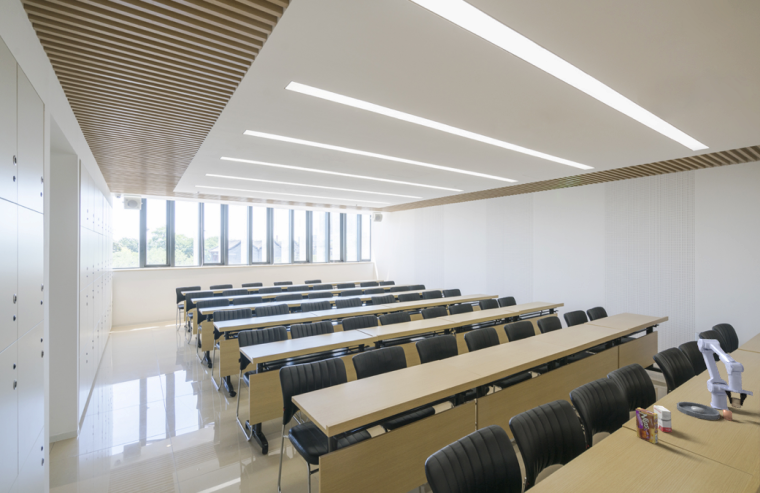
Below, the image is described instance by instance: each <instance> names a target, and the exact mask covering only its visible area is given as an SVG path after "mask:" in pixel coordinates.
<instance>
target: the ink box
mask: <svg viewBox="0 0 760 493" xmlns="http://www.w3.org/2000/svg"><path fill="white" fill-rule="evenodd" d="M653 412H654V413H657V415H658V430H660V431H662V432H663V433H673V431H672V429H673V428H672V411H670V410H669V409H668V408H666V407H664V406H663V405H658V404H657V405H653Z"/></svg>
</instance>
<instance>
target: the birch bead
mask: <svg viewBox="0 0 760 493" xmlns="http://www.w3.org/2000/svg"><path fill="white" fill-rule="evenodd" d="M731 400H732V404H730V405H731V407H732V408H734V409H741V408H742V406H741V399H740V397H739V398H738V397H733V396H731Z"/></svg>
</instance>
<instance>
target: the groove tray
mask: <svg viewBox="0 0 760 493" xmlns="http://www.w3.org/2000/svg"><path fill="white" fill-rule="evenodd" d="M676 410H677V411H679V412H680V413H683V414H685V415H686V416H689V417H694V418H697V419H702V420H709V421H716V420H717V421H718V420H719V419H720V418H721V413H720V411H719V410H718V409H716V408H712V407H711V406H709V405H705V404H701V403H699V402H698V403H696V402H692V401H678V402H677V403H676Z"/></svg>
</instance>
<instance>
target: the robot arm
mask: <svg viewBox="0 0 760 493" xmlns="http://www.w3.org/2000/svg"><path fill="white" fill-rule="evenodd" d="M696 343H697V346H698V350H699V352H700V353H701V354H702V357H703V359H704V363H705V365H706V368H707V371H708V375H709V377H710V378H709V379H708V380H707V381H706V385H707V386H706V388H707V390H708V392H710V394H711V401H710V402H709V404H710V407H712V408H714V409H716V410H722V411H723V409H726V410H729V407H728V401H729V404H730V405H731V404H732V400H731V397H732V393H736V394H739V399H741V407H743V406H744V402H745V401H746V399H747V397H748V396H752V397H753V396H754V393H753V391H750V390H745V389H743V380H742V378H743V377H742V373H744V371H745V368H744V365H743V363H741V362H739V361H736V359H734V358H733V357H732V356H731V355H730V354H729V353H726V352H725V351H724V350H723V349H722V347H721V343H720V342H719V340H718V339H712V338H711V339H710V338H709V339H707V338H698V340H697V342H696ZM715 353H716V355H717V356H718V358H719V360H720V361H721V362H722V363H723V364H724V366H725V367H724V368H725V370H726V373H727V377H728V383H727V381H726V380H725V379H722V378H721V374H720V372H719V369H718V366H717V363H716V360H715V357H714V354H715Z"/></svg>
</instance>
